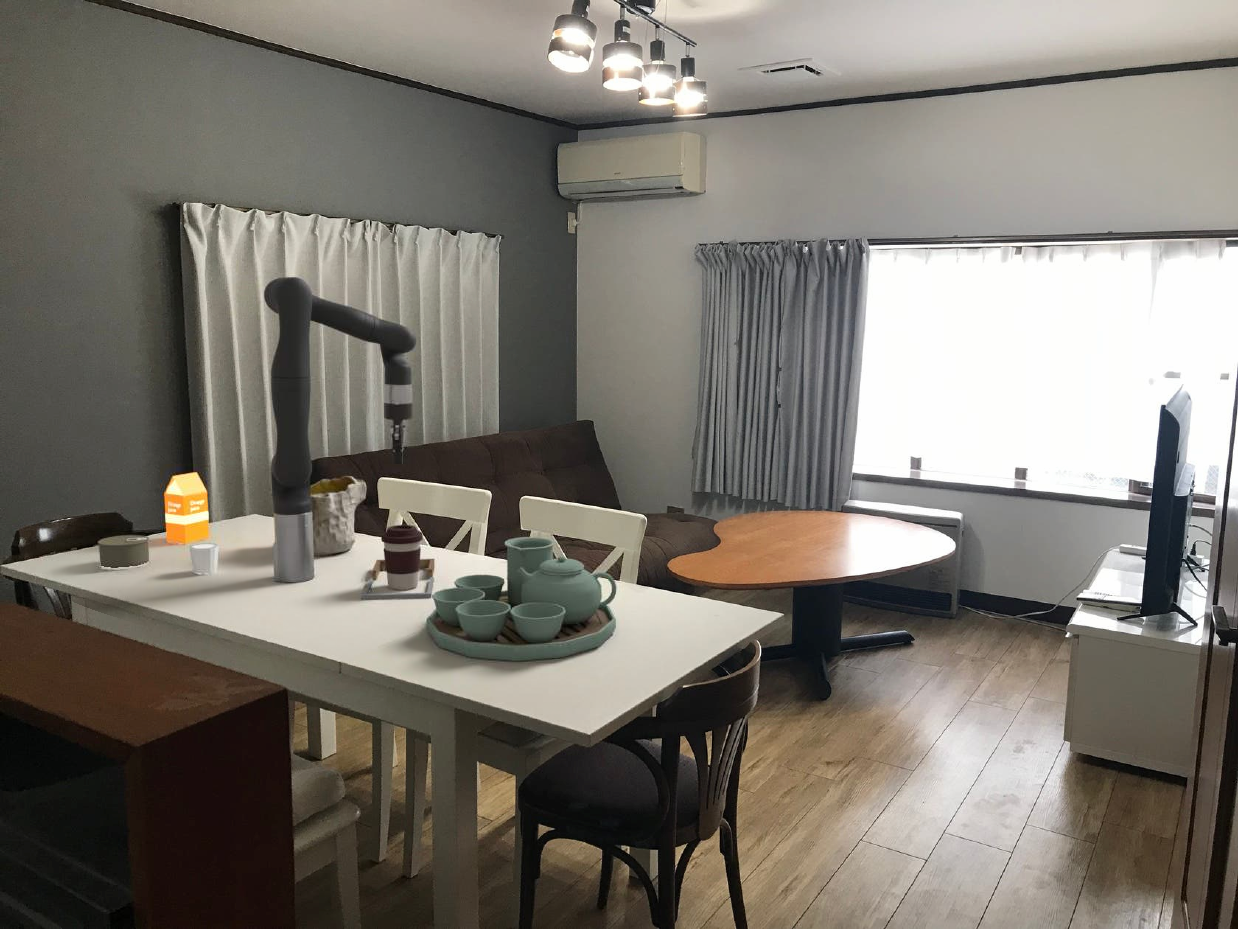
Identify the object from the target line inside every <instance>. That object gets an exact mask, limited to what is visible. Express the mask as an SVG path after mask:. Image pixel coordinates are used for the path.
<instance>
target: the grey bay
mask: <svg viewBox="0 0 1238 929" xmlns="http://www.w3.org/2000/svg"><path fill="white" fill-rule="evenodd" d="M433 583H435V577H434V576H433V577H430V579H428V585H427V591H426V592H402V593H401V592H399V593H396V592H394V593H393V592H392V593H370V592H371V590H370V589H372V587H371V586H373V585H374V580H373V579H372V578H369V579H368V581H367V583H366V585H365V588H364V590H363V592H362V594H361V600H388V599H389V600H392V599H393V598H398V599H397V600H399V598H401V599H432V595H433V588H434V584H433ZM372 584H373V585H372ZM369 591H370V592H369Z"/></svg>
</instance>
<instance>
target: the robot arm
mask: <svg viewBox="0 0 1238 929" xmlns="http://www.w3.org/2000/svg"><path fill="white" fill-rule="evenodd" d="M263 298H264V302H265V304H266V305H267V308H269V309H270V310H271V311H272V312H273V313H276V314H278V320H279V322H278V323H279V324H278V325H279V336H278V342H277V344H276V345H277V346H276V349H275V352H274V355H273V360H272V363H271V370H270V391H271V402H272V403H271V404H272V411H273V415H274V420H275V424H276V447H275V448H276V449H275V454H274V455H273V457H272V459H271V463H270V476H271V477H270V479H271V496H272V498H271V499H272V506H273V507H272V508H273V524H274V525H273V526H274V542H273V543H272V554H273V577H274V578H273V581H274V582H283V583H299V582H306V581H309V580H312V579H314V578H315V562H314V561H315V558H314V557H315V556H314V549H313V520H312V499H311V492H310V486H311V484H310V483H311V480H310V478H311V476H312V472H313V464H312V463H313V462H312V459H311V451H310V450H311V449H310V440H309V423H310V411H311V410H310V409H311V391H312V390H311V384H312V383H311V356H310V355H311V351H310V350H311V347H310V345H311V344H310V331H311V330H310V329H311V322H313V323H317V324H320V325H323V326H325V327H328V328H330V329H332V330H336V331H339V332H340V333H343V334H344V335H345V334H346V335H348V336H351V337H353V338H355V339H358V340H361V341H364V342H366V343H371V344H378V345H379V348H380V349H379V350H380V354H381V358H382V362H383V366H384V388H383V418H384V419H385V420H392V422H393V424H392V425H390V427H389V428H390V429H389V430H390V435H391V437H390V438H391V444H392V450H393V465H394V466H399V467H400V466H403V463H404V462H403V460H404V459H403V458H404V457H403V456H404V454H403V453H404V452H403V451H404V450H405V448H404V447H405V441H406V431H407V425H404V421H407V420H412V419H413V388H412V366H411V364H410V363H408V362H407V361H406V357H405V356H406V355H405V354H406V353H409V352H411V351H412V350H414V349H415V347H416V345H417V337H416V335H415V333H414V331H413V330H412V329H410V328H409V327H408V326H405V325H402V324H400V323H399V324H398V323H395V322H392V321H388V320H385V319H381V318H380V317H377V316H375V315H372V314H371V313H368V312H365V311H363V310H361V309H358V308H354V307H352V306H348V305H345V304H342V303H341V304H340V303H338V302H337V303H336V302H333V301H330V300H328V299H324V298H322V297H318V296H316V295H314V294H312V289H311V288H310V286H309V285H308V283H307V282H306V281H305V280H304V279H302V278H300V277H295V276H289V277H278V278H275V279H273V280H271V281H270V282H269V283H268V284H267V285H266V286H265V289H264V291H263Z"/></svg>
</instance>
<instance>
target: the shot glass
mask: <svg viewBox="0 0 1238 929" xmlns="http://www.w3.org/2000/svg"><path fill="white" fill-rule="evenodd" d="M189 553H190V554H189V555H190V559H191V565H192V567H191V568H192V573H193V572H195V573H201V574H203V573H204V574H205V573H211V572H216V571H217V572H218V561H219V544H216V543H200V544H198V543H197V544H193V545H190V546H189ZM217 572H216V573H217Z"/></svg>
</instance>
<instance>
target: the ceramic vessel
mask: <svg viewBox="0 0 1238 929" xmlns="http://www.w3.org/2000/svg"><path fill="white" fill-rule="evenodd" d="M310 492H311V499H312V520H313V549H314V557H319V556H321V557H322V556H327V555H333V554H337V553H342V552H346V551H348V550H350V549H352V548H353V546H354V543H355V542H356V535H355V511H356V509H357V507H358V506H359V505H360V504H361V503H362V502H363V501H364V500H366V498H367V497H366V495H367V484H366V482H365V480H363V479H362V478H361V479H360V478H354V476H351V475H344V476H342V477H340V478H332V479H329V478H328V479H327V478H324V479H321V480H319V481H317V482H316V483H313V484H310Z"/></svg>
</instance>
